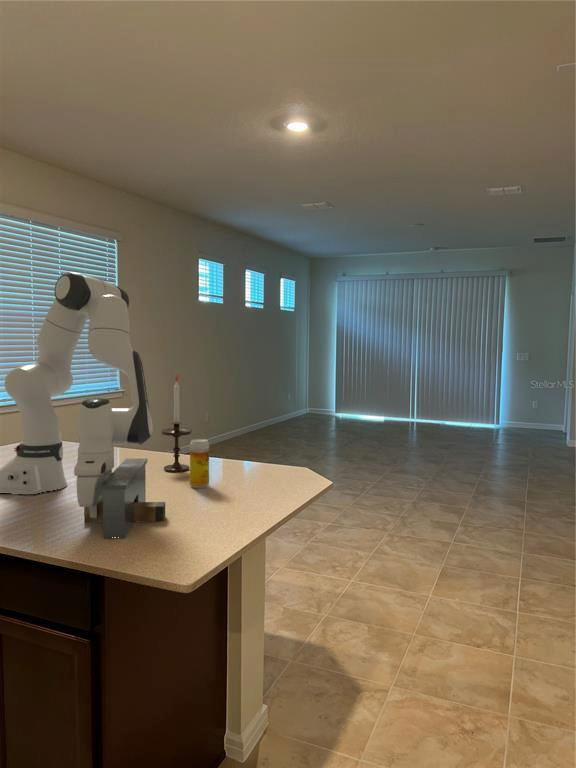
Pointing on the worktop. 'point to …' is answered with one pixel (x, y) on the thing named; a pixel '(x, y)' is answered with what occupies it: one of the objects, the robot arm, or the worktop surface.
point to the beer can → (199, 463)
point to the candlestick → (176, 435)
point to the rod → (141, 512)
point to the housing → (123, 497)
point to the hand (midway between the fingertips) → (96, 513)
